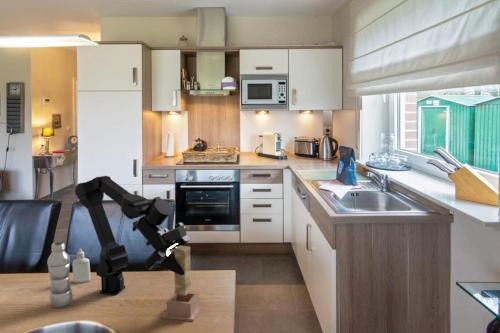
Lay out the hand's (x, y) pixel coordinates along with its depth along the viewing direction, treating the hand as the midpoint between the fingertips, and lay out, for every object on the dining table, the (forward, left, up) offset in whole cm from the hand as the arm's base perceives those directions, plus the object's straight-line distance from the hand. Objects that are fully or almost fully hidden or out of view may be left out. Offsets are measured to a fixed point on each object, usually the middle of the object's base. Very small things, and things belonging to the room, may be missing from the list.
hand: (186, 272), depth 123 cm
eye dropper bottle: (-45, +14, -13) cm, 49 cm away
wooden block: (-1, 0, -7) cm, 7 cm away
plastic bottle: (-40, -4, -13) cm, 43 cm away
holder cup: (-1, 0, -13) cm, 13 cm away
